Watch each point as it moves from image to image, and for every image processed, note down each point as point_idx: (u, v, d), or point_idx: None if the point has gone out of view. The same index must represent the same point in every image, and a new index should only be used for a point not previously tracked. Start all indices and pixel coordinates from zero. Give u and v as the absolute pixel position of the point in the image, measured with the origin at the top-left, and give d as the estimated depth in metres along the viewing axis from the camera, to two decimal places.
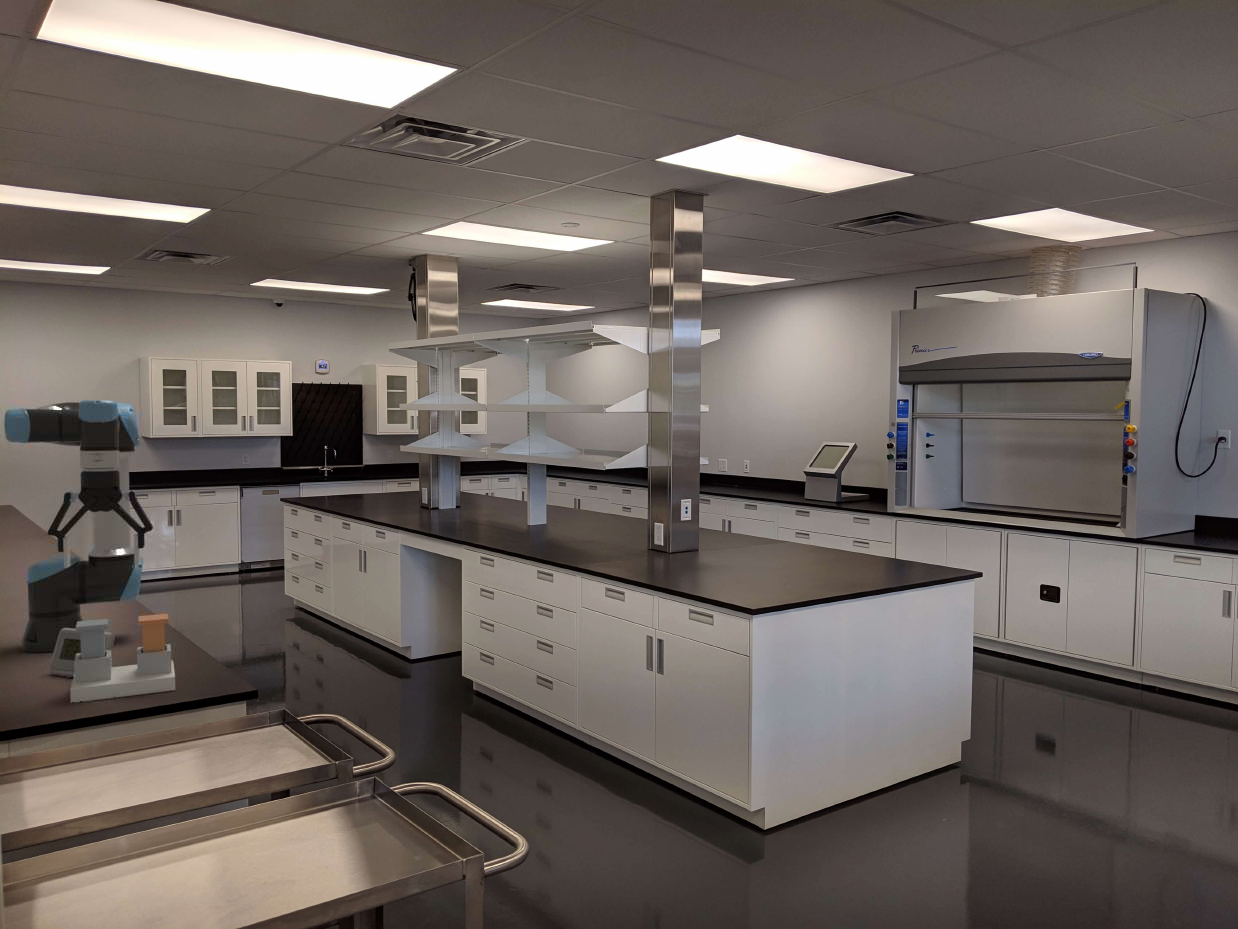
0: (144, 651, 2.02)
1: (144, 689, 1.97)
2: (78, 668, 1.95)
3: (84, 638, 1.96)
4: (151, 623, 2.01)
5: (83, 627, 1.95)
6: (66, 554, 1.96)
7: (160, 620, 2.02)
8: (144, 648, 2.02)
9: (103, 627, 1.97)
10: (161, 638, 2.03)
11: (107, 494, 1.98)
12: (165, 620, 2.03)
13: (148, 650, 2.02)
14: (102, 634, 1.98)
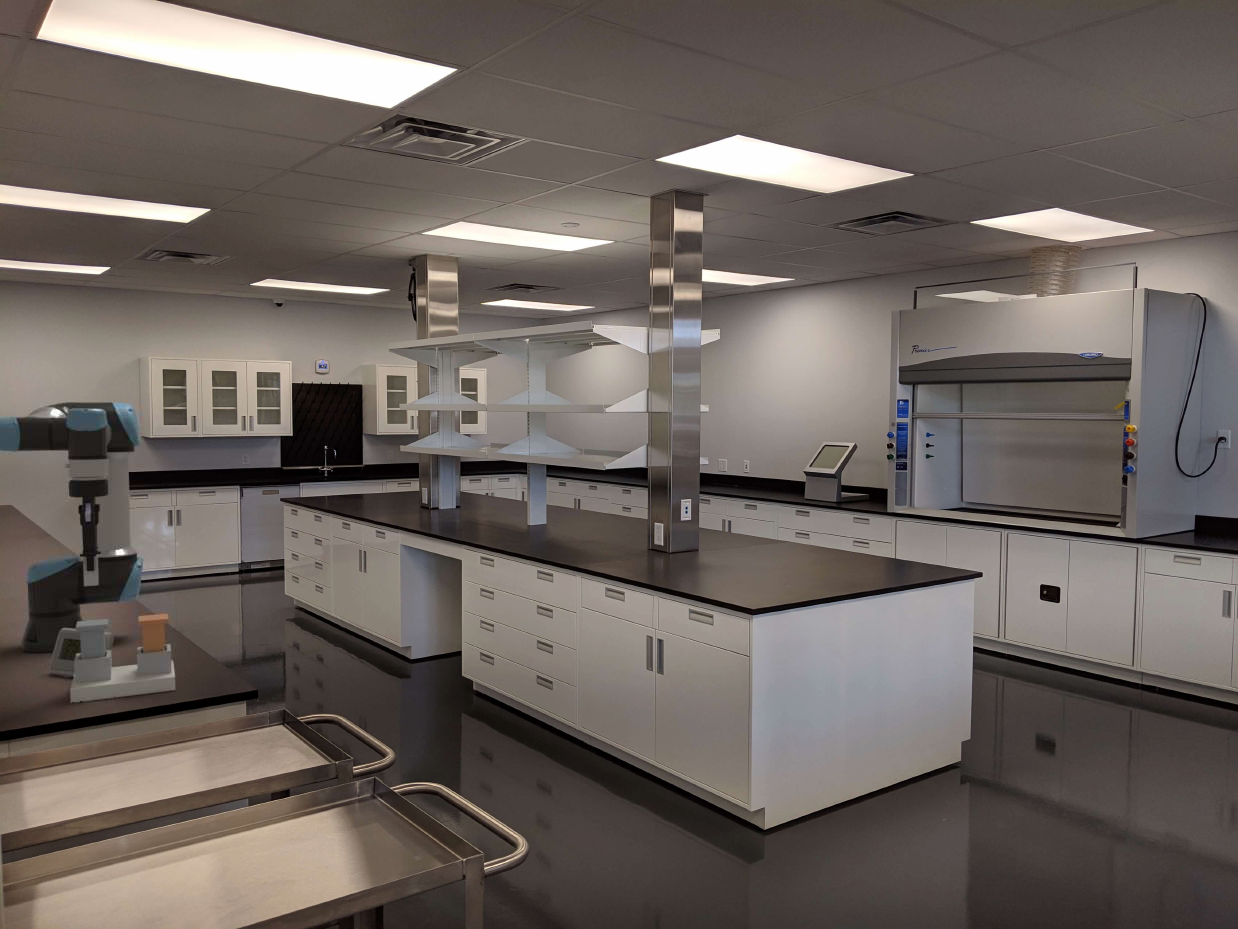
0: (144, 651, 2.02)
1: (144, 689, 1.97)
2: (78, 668, 1.95)
3: (84, 638, 1.96)
4: (151, 623, 2.01)
5: (83, 627, 1.95)
6: (83, 572, 1.97)
7: (160, 620, 2.02)
8: (144, 648, 2.02)
9: (103, 627, 1.97)
10: (161, 638, 2.03)
11: None
12: (165, 620, 2.03)
13: (148, 650, 2.02)
14: (102, 634, 1.98)
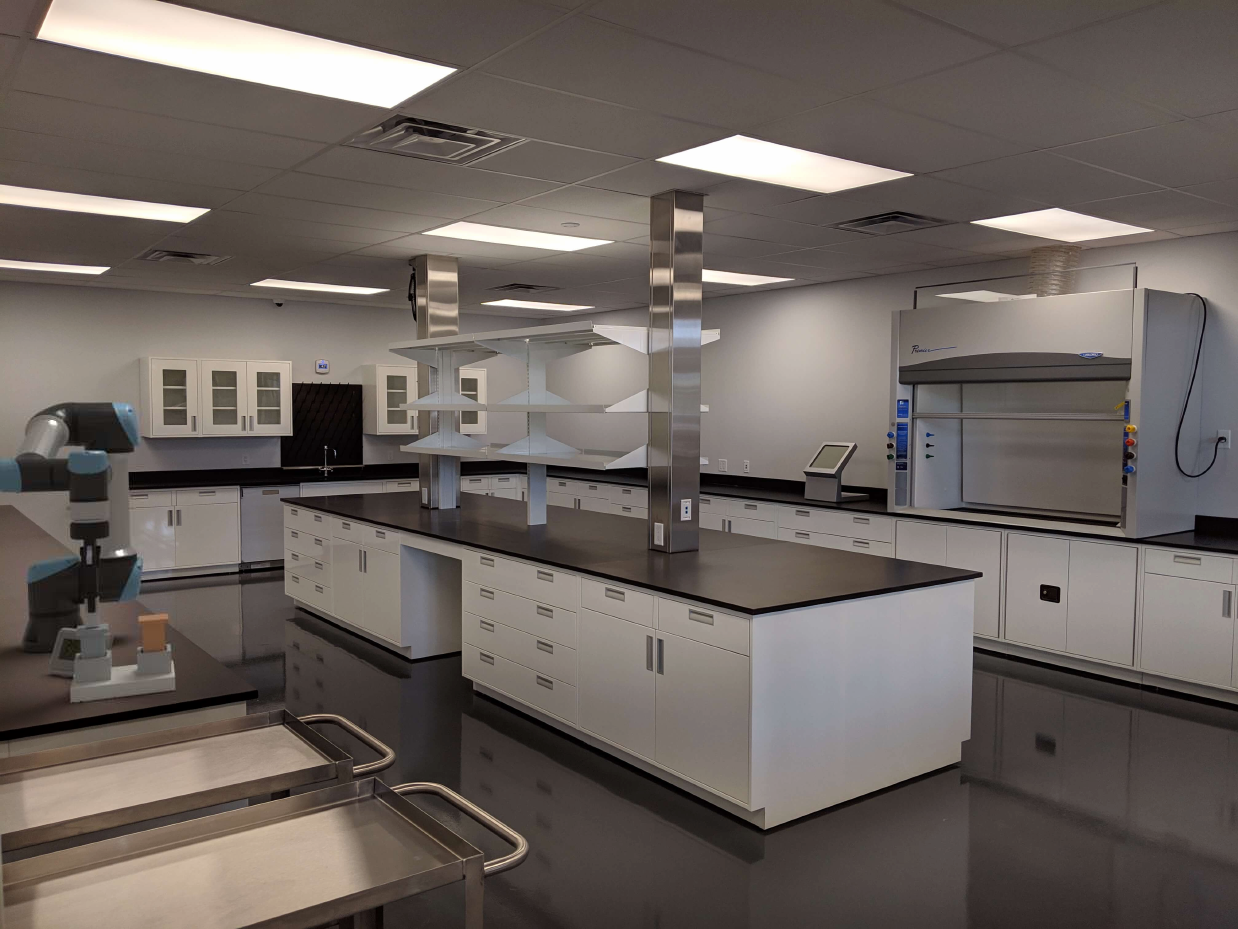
0: (144, 651, 2.02)
1: (144, 689, 1.97)
2: (78, 668, 1.95)
3: (84, 643, 1.96)
4: (151, 623, 2.01)
5: (83, 632, 1.95)
6: (85, 614, 1.98)
7: (160, 620, 2.02)
8: (144, 648, 2.02)
9: (103, 632, 1.97)
10: (161, 638, 2.03)
11: (84, 548, 1.95)
12: (165, 620, 2.03)
13: (148, 650, 2.02)
14: (102, 639, 1.98)
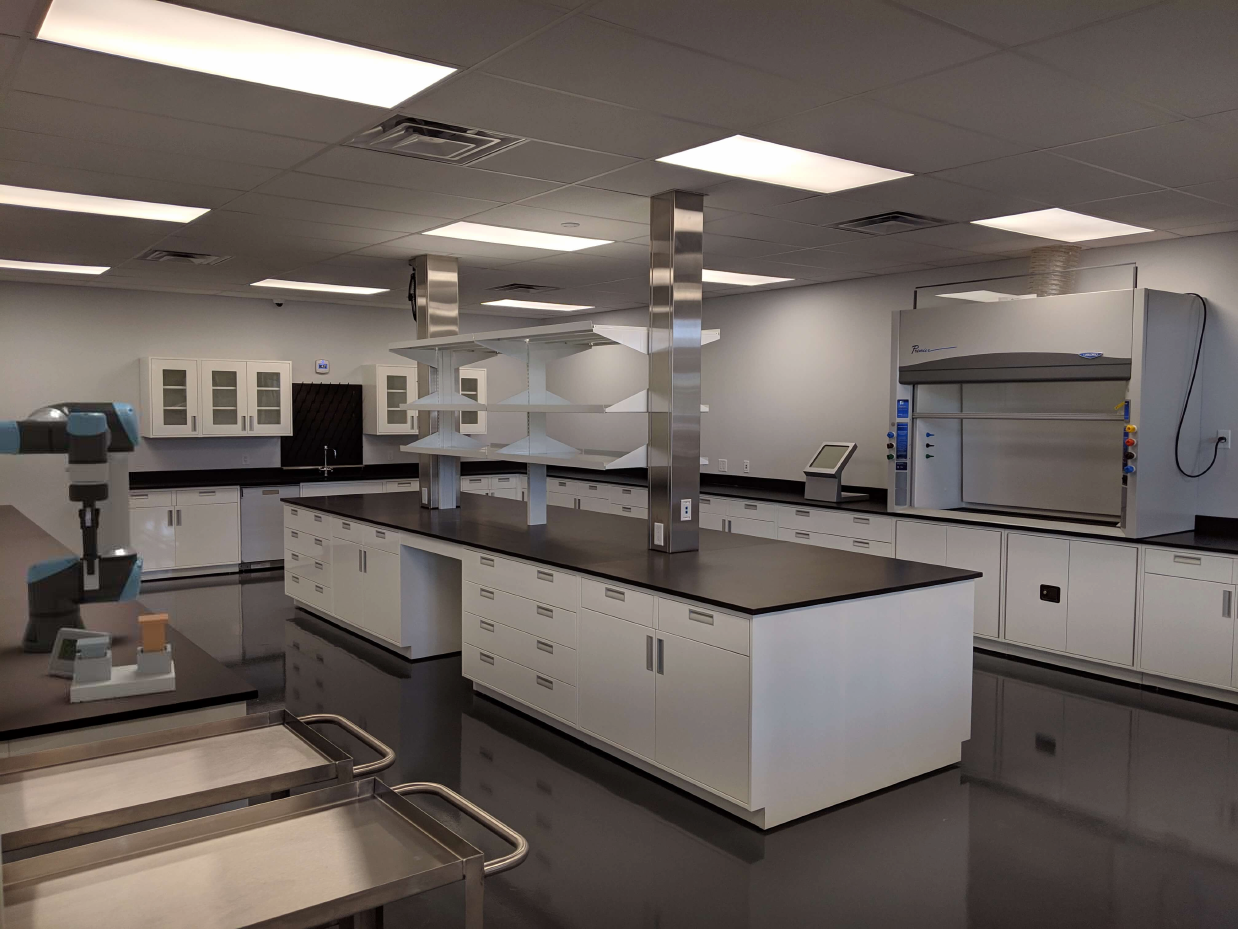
0: (144, 651, 2.02)
1: (144, 689, 1.97)
2: (78, 668, 1.95)
3: (85, 657, 1.96)
4: (151, 623, 2.01)
5: (84, 645, 1.96)
6: (84, 576, 1.98)
7: (160, 620, 2.02)
8: (144, 648, 2.02)
9: (103, 645, 1.97)
10: (161, 638, 2.03)
11: (83, 510, 1.95)
12: (165, 620, 2.03)
13: (148, 650, 2.02)
14: (102, 652, 1.98)
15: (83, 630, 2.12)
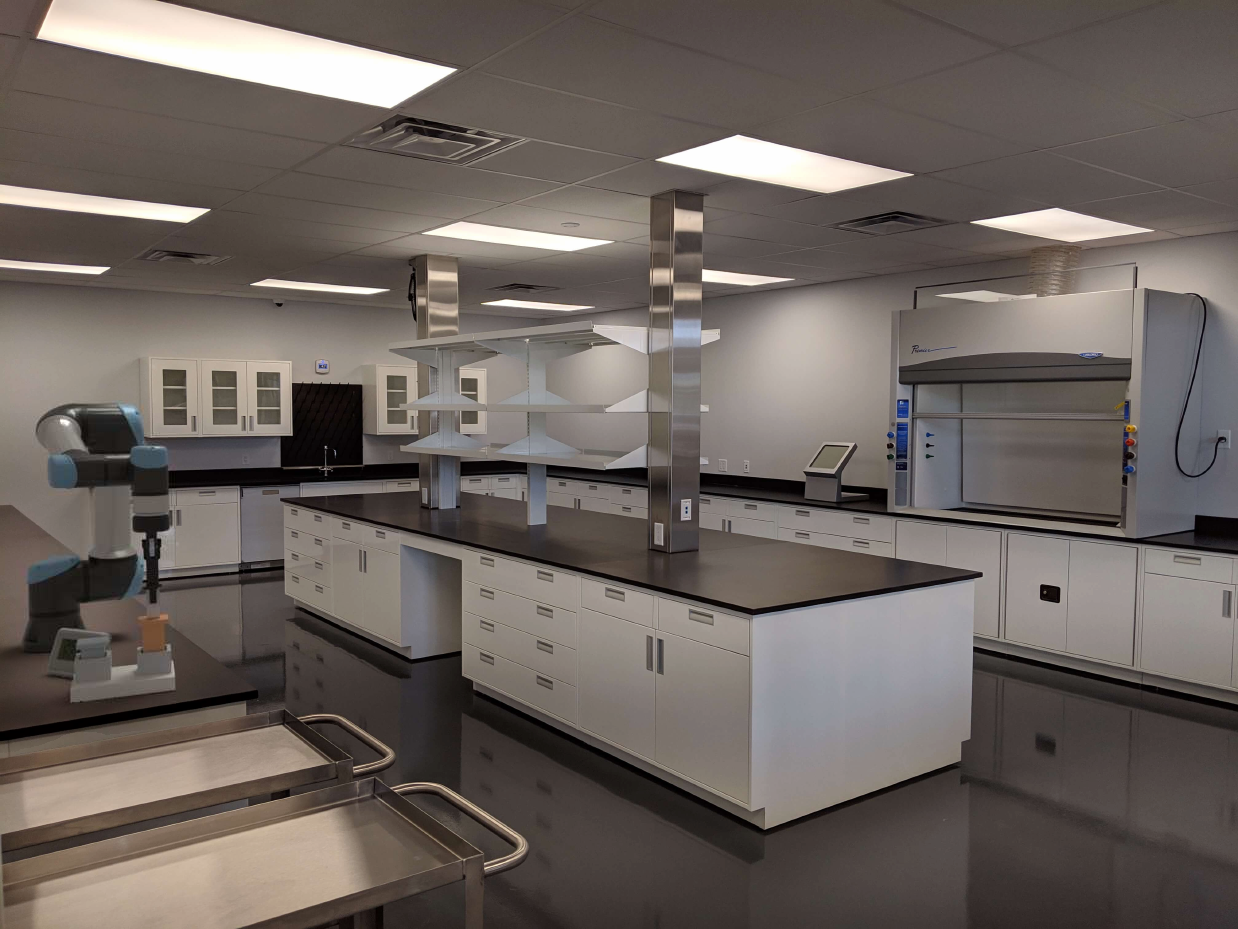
0: (144, 652, 2.02)
1: (144, 689, 1.97)
2: (78, 668, 1.95)
3: (85, 657, 1.96)
4: (151, 624, 2.01)
5: (84, 645, 1.96)
6: (146, 604, 2.04)
7: (160, 621, 2.02)
8: (144, 649, 2.02)
9: (103, 645, 1.97)
10: (161, 638, 2.03)
11: (146, 540, 2.01)
12: (165, 621, 2.03)
13: (148, 651, 2.02)
14: (102, 652, 1.98)
15: (82, 630, 2.12)
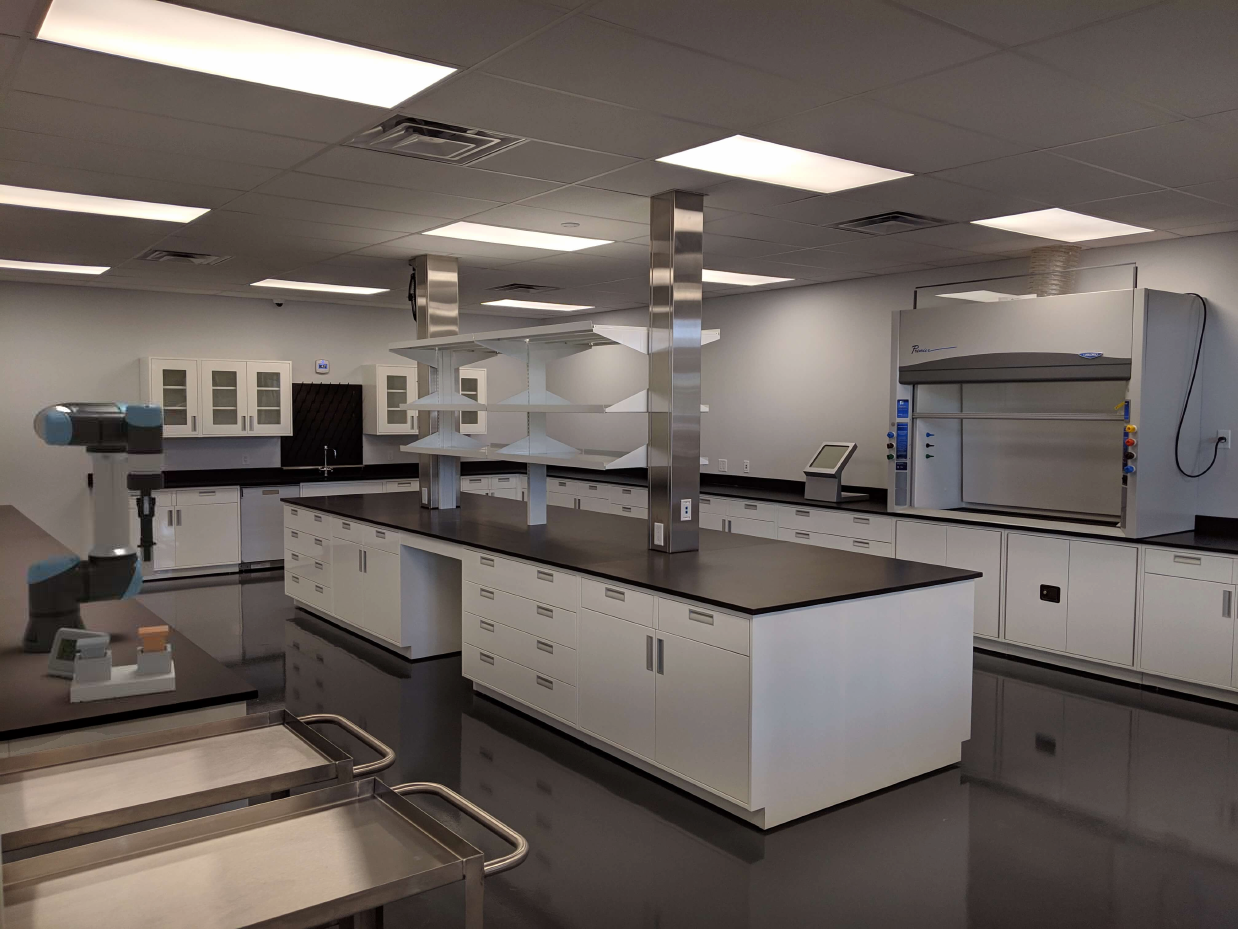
0: None
1: (144, 689, 1.97)
2: (78, 668, 1.95)
3: (85, 657, 1.96)
4: (151, 635, 2.02)
5: (84, 645, 1.96)
6: (140, 562, 2.05)
7: (160, 632, 2.02)
8: None
9: (103, 645, 1.97)
10: (161, 650, 2.03)
11: (140, 498, 2.02)
12: (165, 632, 2.03)
13: None
14: (102, 652, 1.98)
15: (81, 630, 2.12)
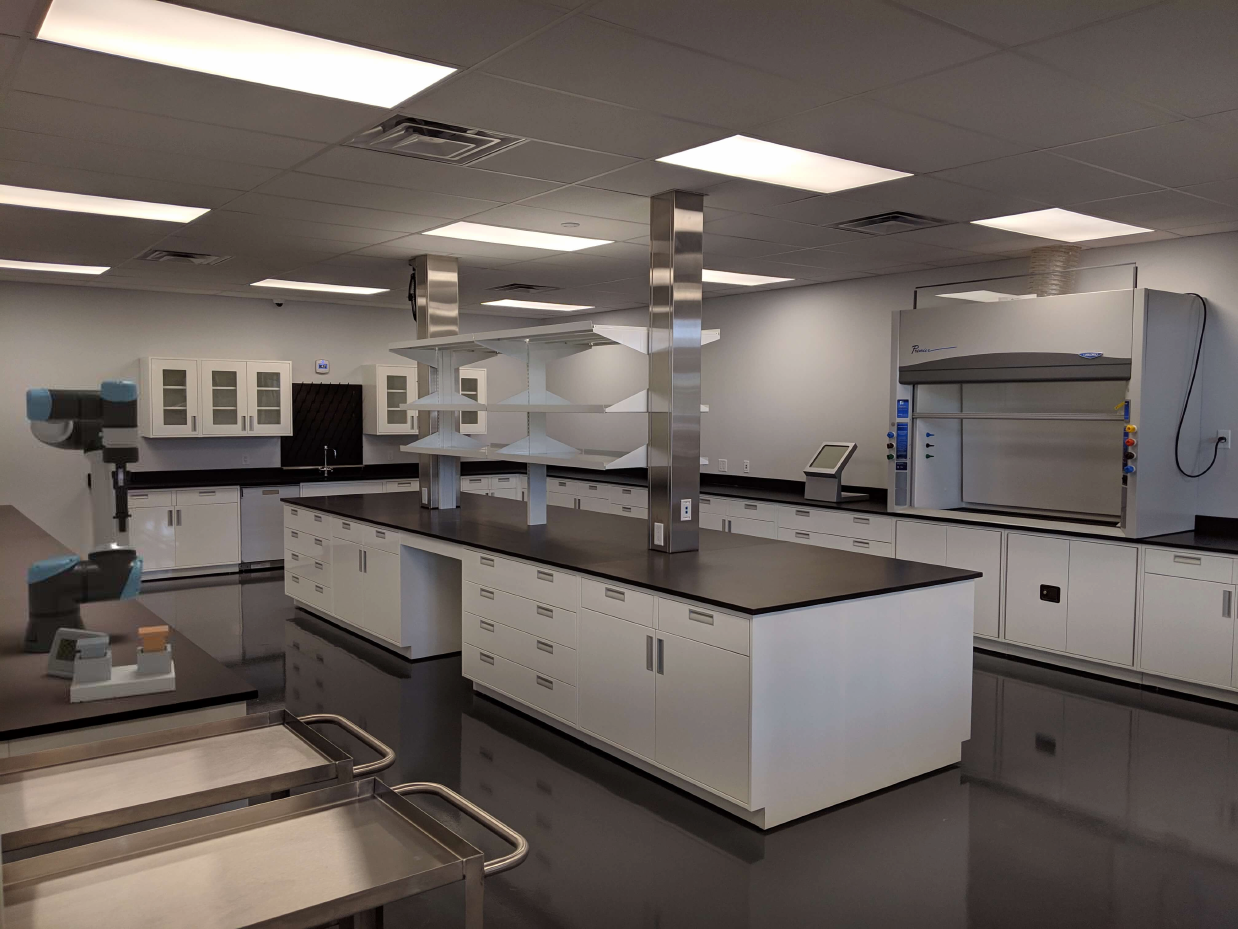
0: None
1: (144, 689, 1.97)
2: (78, 668, 1.95)
3: (85, 657, 1.96)
4: (151, 635, 2.02)
5: (84, 645, 1.96)
6: (116, 533, 2.12)
7: (160, 632, 2.02)
8: None
9: (103, 645, 1.97)
10: (161, 650, 2.03)
11: None
12: (165, 632, 2.03)
13: None
14: (102, 652, 1.98)
15: (80, 630, 2.12)
